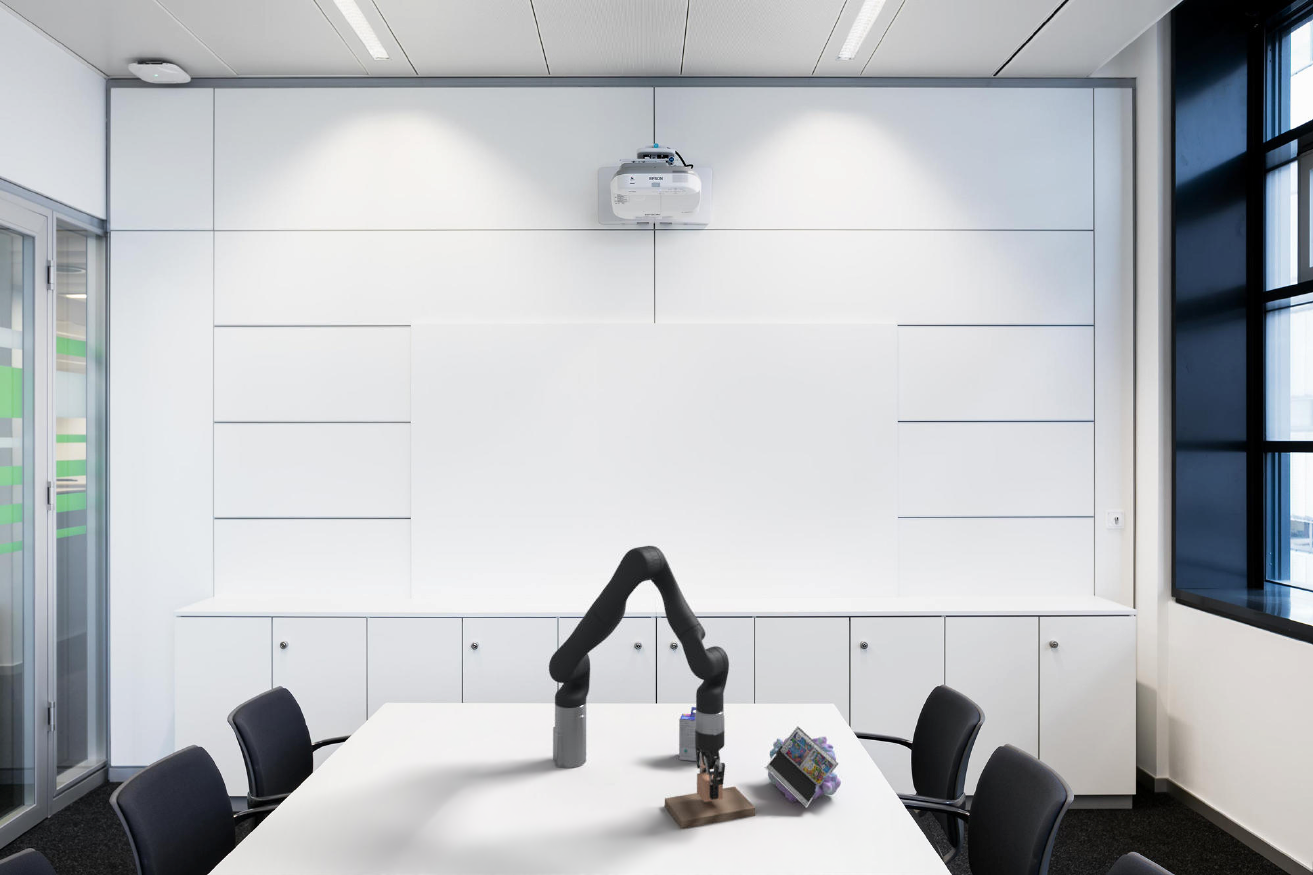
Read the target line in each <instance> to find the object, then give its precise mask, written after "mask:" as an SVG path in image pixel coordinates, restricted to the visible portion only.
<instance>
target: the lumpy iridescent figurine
mask: <svg viewBox="0 0 1313 875" xmlns="http://www.w3.org/2000/svg"><path fill="white" fill-rule="evenodd" d="M769 757H770V759H769V761H768V762H767V763H766V764H765V766H764V768H765V770H766V771H767V776H768V780H769V781H770V782H771V783H772V785H774V786H776V787H777V789H778V790H779V791H780V792H782V793H784V796H785V798H786V800H788V801H789V802H796V801H798V802H800V803H801V804H802V806H804V807H805V808H807V807H808V806H809V805H810V804H811V802H812V801H813V800H814V799H817V798H818V797H819V796H822V795H826V796H832V795H835V793H837V790H838V789H839V788H840V786H841V784H842V781H841V779H840V778H839V777H838V775H837V773H836V772H834V771H835V770H836V768H837V767H838V766H839V762H838V761H837V756H836V752H835V751H834V746H833V744H831V743H828V739H827V736H824V735H823V736H819V737H814V738H811V737H810V735H808V734H807V733H806V732H805V731H804V730H803V729H801V727H800V726H797V727H796V728H795V729H794V730H793V731H792V732H791V734H790V735H789V736H788V737H786V738H785V739H784V741H783V739H781V738H776V741H774V742H773V748H772V749H771V750H770V751H769Z"/></svg>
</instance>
